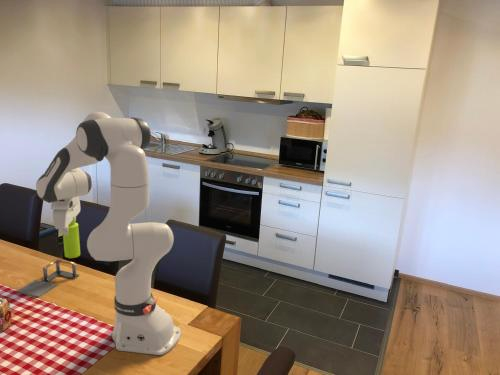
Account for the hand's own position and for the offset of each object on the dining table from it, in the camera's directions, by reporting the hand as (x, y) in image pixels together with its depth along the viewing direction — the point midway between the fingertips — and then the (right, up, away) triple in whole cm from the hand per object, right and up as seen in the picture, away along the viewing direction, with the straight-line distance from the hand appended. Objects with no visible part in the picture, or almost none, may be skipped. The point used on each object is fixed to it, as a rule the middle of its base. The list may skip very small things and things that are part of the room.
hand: (69, 231), depth 166 cm
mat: (-11, -22, -4) cm, 25 cm away
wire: (-5, -20, +4) cm, 21 cm away
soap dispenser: (-1, -10, +3) cm, 11 cm away
